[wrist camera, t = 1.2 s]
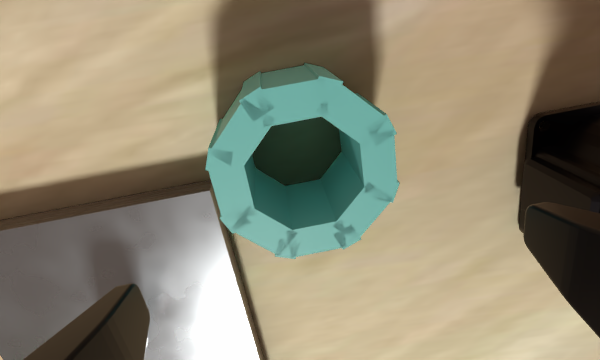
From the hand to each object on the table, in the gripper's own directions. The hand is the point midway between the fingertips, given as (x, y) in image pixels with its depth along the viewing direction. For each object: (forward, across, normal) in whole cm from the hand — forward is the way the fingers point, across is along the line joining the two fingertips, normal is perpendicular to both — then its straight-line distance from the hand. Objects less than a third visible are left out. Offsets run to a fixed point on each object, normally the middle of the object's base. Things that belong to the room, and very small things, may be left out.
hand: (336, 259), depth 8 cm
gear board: (+9, +10, +12) cm, 18 cm away
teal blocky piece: (+9, 0, 0) cm, 9 cm away
